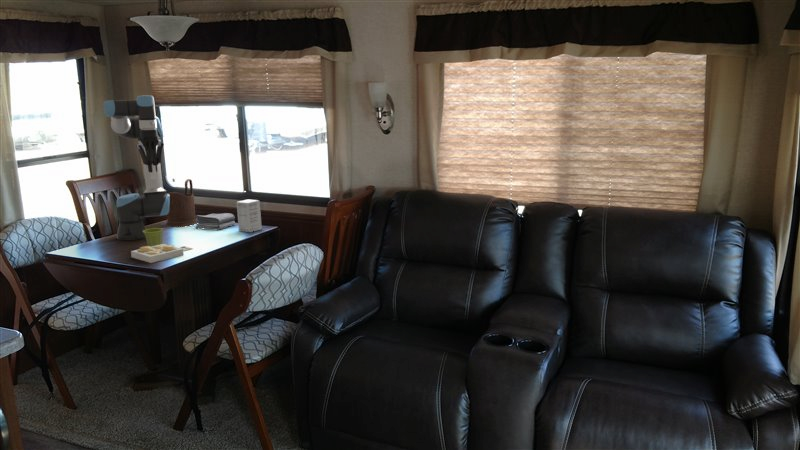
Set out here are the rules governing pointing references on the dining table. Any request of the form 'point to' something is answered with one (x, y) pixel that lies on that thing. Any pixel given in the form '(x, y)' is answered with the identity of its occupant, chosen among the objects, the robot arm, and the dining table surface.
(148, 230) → the plant pot
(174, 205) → the brown basket
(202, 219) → the towel
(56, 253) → the dining table surface
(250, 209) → the supplement box
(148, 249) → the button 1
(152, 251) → the button
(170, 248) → the button
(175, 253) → the white square food tray
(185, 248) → the card
